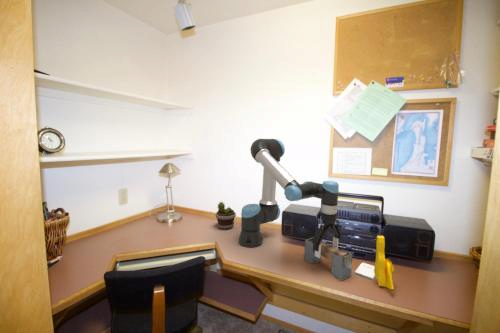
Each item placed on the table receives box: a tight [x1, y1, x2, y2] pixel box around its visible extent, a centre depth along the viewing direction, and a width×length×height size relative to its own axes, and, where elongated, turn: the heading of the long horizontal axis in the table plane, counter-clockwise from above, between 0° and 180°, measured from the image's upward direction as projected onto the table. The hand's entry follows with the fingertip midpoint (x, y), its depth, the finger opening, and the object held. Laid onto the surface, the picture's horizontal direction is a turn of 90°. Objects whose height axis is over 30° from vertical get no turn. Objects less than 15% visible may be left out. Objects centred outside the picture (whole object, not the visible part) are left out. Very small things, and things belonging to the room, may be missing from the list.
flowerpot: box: [215, 200, 237, 230], centre depth 171 cm, size 14×15×20 cm
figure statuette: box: [374, 235, 395, 290], centre depth 105 cm, size 18×8×22 cm, turn 161°
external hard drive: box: [354, 262, 376, 281], centre depth 115 cm, size 2×8×12 cm
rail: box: [311, 241, 347, 262], centre depth 118 cm, size 19×4×5 cm, turn 34°
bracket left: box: [303, 237, 323, 265], centre depth 126 cm, size 6×7×11 cm
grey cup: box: [331, 249, 354, 281], centre depth 111 cm, size 6×7×11 cm
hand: (326, 253), depth 118 cm, fingers open, 13 cm apart
